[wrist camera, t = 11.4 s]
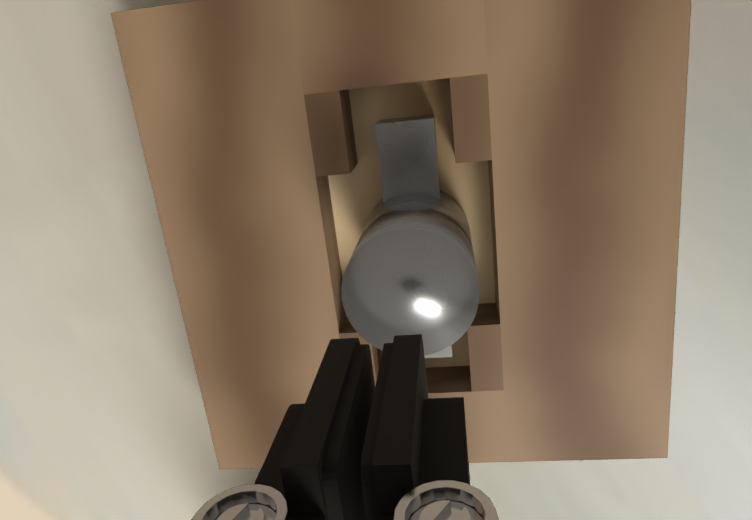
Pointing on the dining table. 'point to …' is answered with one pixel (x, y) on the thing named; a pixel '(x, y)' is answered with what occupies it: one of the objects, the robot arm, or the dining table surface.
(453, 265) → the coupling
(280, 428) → the robot arm
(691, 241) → the dining table surface
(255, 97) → the socket plate
